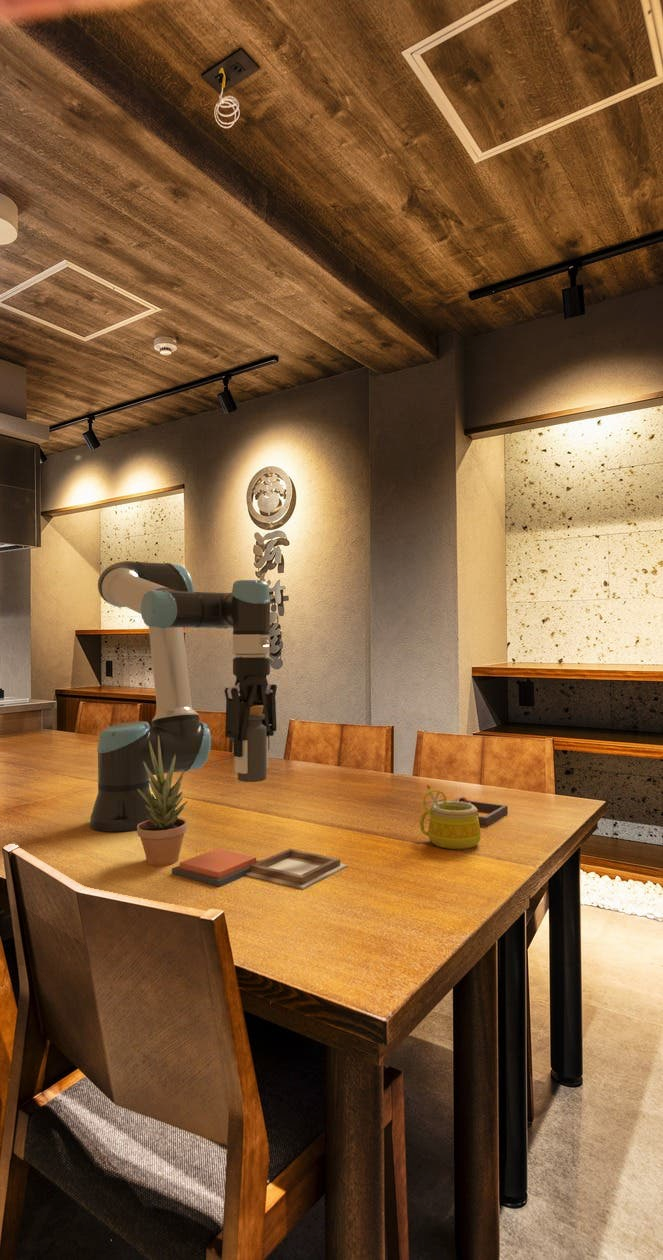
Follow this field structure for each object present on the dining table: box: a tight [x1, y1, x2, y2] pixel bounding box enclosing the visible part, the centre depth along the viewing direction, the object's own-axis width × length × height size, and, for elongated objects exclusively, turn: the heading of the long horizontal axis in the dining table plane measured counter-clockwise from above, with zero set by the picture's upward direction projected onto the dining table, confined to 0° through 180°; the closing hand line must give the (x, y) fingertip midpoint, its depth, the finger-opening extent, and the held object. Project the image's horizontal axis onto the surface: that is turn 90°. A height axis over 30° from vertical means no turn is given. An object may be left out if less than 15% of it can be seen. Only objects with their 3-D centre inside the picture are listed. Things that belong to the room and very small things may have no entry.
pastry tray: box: [451, 798, 509, 828], centre depth 164 cm, size 14×14×2 cm
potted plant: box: [136, 735, 188, 867], centre depth 132 cm, size 10×10×25 cm
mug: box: [419, 784, 481, 850], centre depth 142 cm, size 13×11×12 cm
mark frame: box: [245, 848, 349, 890], centre depth 126 cm, size 14×14×2 cm
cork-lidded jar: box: [237, 704, 268, 783], centre depth 138 cm, size 6×6×15 cm
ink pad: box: [171, 848, 260, 888], centre depth 126 cm, size 12×12×2 cm
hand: (251, 769), depth 138 cm, fingers closed on cork-lidded jar, 6 cm apart
